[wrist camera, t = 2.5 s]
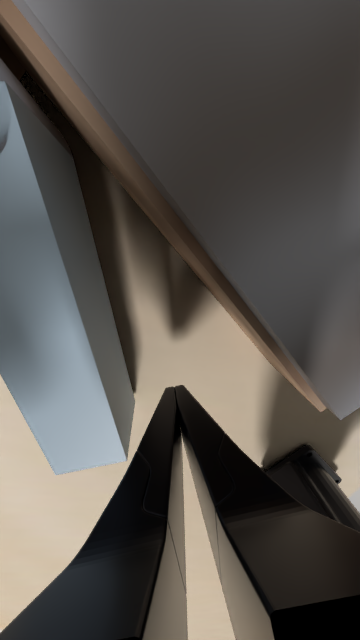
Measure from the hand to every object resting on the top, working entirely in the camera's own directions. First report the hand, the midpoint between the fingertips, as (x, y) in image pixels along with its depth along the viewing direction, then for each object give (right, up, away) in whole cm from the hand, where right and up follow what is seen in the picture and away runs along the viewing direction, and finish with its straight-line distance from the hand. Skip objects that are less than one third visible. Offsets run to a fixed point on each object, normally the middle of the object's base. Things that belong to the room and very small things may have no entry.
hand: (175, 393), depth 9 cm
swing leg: (-5, +5, 0) cm, 7 cm away
